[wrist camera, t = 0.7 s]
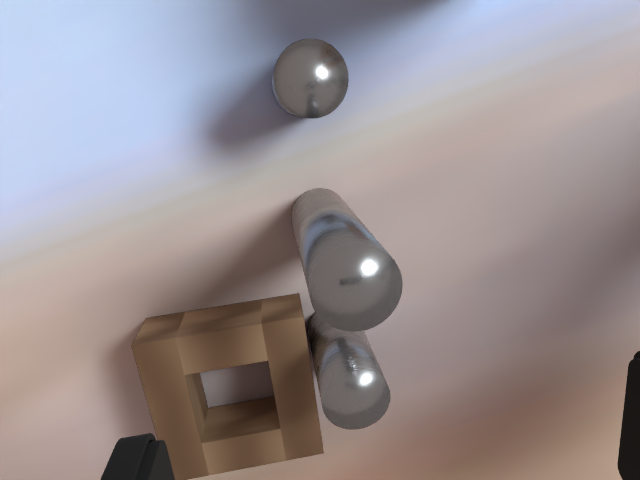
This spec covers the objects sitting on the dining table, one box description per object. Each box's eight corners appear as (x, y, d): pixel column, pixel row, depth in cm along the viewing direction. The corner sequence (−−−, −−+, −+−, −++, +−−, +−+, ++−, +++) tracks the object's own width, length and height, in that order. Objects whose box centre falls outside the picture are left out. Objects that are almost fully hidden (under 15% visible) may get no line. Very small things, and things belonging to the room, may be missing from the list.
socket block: (299, 293, 30) (303, 316, 27) (317, 418, 33) (323, 453, 30) (146, 318, 29) (131, 345, 26) (179, 443, 32) (169, 482, 29)
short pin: (329, 47, 26) (344, 34, 21) (336, 112, 27) (351, 113, 22) (266, 55, 26) (268, 43, 21) (276, 120, 27) (279, 123, 22)
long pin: (344, 184, 28) (399, 237, 17) (350, 238, 29) (405, 323, 18) (287, 192, 28) (303, 252, 17) (295, 247, 29) (316, 338, 18)
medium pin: (356, 300, 31) (387, 364, 23) (361, 346, 32) (392, 422, 24) (304, 308, 30) (318, 376, 23) (311, 355, 31) (326, 435, 24)
